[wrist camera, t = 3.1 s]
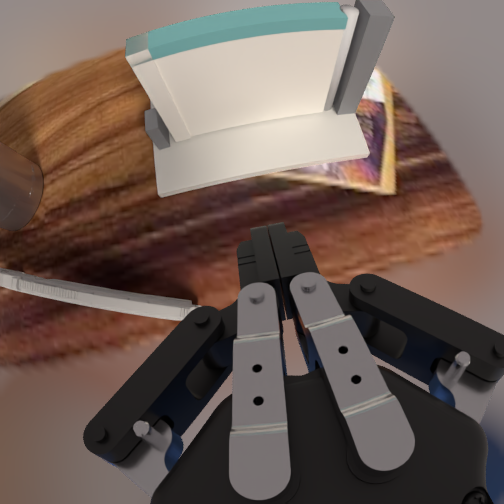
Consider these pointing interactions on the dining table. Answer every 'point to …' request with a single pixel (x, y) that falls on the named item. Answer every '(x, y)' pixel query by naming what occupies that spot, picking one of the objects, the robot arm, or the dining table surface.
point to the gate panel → (244, 65)
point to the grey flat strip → (97, 296)
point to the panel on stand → (277, 126)
